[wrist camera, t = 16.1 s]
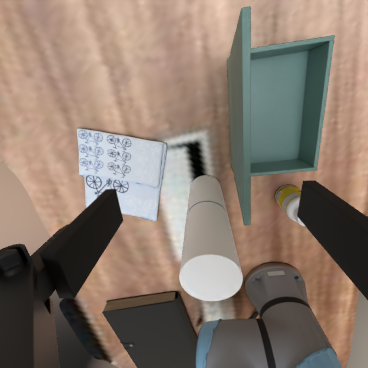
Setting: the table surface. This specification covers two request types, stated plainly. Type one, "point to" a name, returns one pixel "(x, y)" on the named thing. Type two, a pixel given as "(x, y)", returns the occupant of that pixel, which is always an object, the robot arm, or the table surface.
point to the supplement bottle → (289, 201)
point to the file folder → (154, 330)
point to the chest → (286, 105)
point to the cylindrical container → (209, 245)
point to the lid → (242, 109)
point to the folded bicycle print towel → (122, 170)
